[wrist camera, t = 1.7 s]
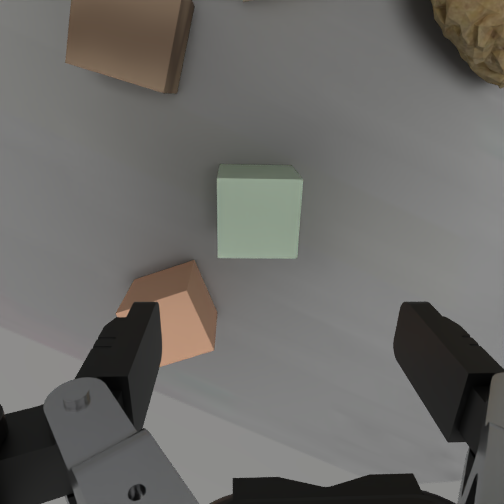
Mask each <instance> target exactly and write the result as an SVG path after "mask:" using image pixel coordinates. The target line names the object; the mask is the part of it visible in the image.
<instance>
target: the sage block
mask: <svg viewBox="0 0 504 504" xmlns="http://www.w3.org/2000/svg"><path fill="white" fill-rule="evenodd" d="M302 189H303V179H302V178H301V176H300V175H299V174H298V173H297V172H296V170H295V169H294V168H293V167H292V166H291V165H245V164H220V165H219V170H218V175H217V240H218V258H283V259H297V253H298V240H299V228H300V215H301V202H302Z"/></svg>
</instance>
